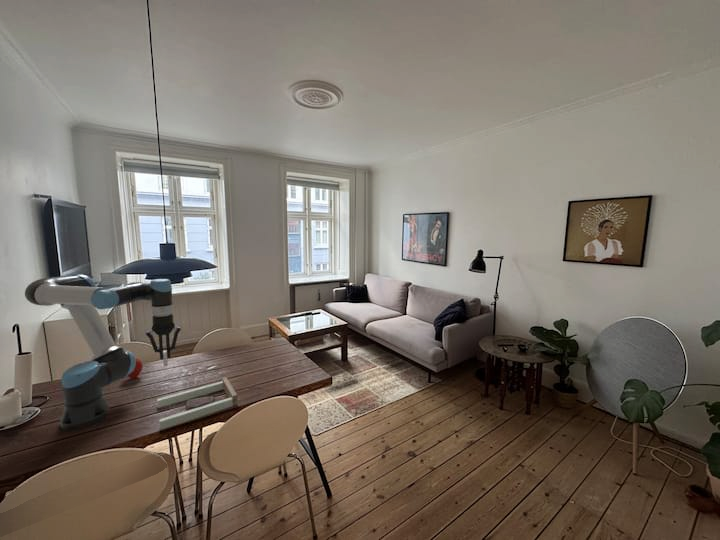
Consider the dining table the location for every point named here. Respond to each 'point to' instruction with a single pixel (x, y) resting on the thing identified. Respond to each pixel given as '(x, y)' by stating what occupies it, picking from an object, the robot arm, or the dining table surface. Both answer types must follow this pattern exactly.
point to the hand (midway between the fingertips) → (165, 365)
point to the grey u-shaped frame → (200, 410)
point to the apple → (136, 369)
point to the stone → (199, 402)
